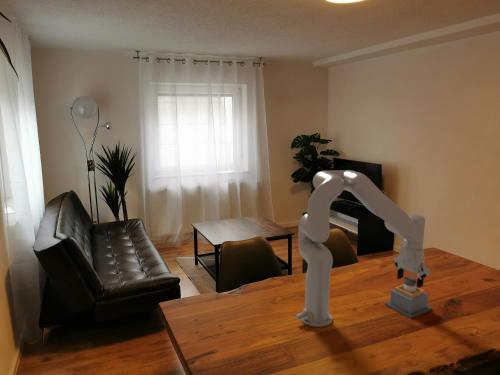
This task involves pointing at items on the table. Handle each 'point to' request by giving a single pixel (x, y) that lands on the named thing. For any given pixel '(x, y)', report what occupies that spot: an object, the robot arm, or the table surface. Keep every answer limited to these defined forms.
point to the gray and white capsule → (410, 285)
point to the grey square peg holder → (409, 302)
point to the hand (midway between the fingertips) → (409, 282)
